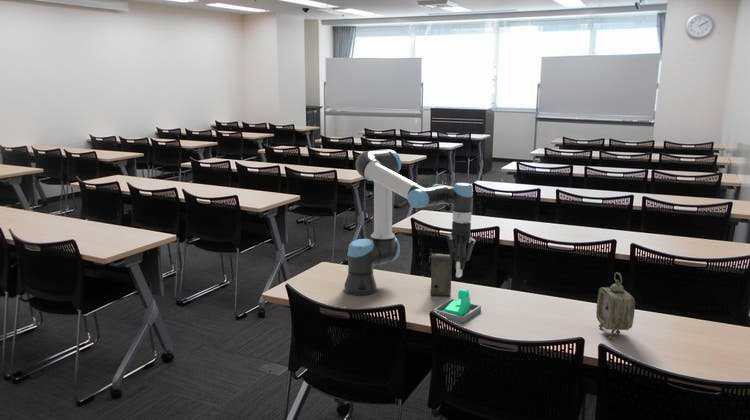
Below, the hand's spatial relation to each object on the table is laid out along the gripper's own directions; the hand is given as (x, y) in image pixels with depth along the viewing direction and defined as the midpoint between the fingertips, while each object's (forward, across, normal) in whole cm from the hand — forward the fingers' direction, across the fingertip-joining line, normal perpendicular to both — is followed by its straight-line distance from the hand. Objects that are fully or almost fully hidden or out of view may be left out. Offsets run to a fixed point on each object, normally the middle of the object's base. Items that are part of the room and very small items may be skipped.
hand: (458, 276), depth 234 cm
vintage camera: (+17, -19, +19) cm, 32 cm away
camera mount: (+16, 0, 0) cm, 16 cm away
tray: (+16, 0, 0) cm, 16 cm away
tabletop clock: (+17, +58, +19) cm, 63 cm away
